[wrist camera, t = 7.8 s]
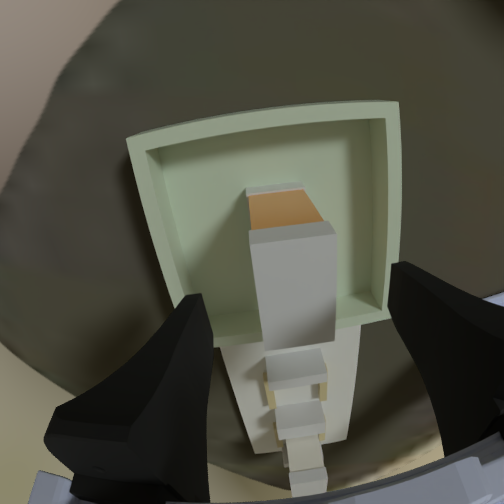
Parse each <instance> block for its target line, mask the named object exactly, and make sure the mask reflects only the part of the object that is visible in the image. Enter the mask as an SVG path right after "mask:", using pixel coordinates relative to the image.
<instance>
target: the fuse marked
mask: <svg viewBox="0 0 504 504" xmlns="http://www.w3.org/2000/svg"><path fill="white" fill-rule="evenodd" d="M246 197H247V205H248V212H249V219H250V226H251V230H249V243H250V251H251V258H252V265H253V272H254V279H255V286H256V293H257V300H258V307H259V314H260V321H261V328H262V335H263V341H264V348H265V351H271V350H279V349H286V348H293V347H300V346H307V345H313V344H319V343H326V342H332V341H335V325H336V296H337V233H336V232H335V230H334V229H333V227H332V226H331V224H330V223H329V221H324V220H323V218H322V217H321V215H320V214H319V212H318V211H317V209H316V208H315V206H314V204H313V203H312V201H311V200H310V198H309V197H308V195H307V194H306V192H305V186H304V185H303V183H302V182H301V181H297V182H288V183H280V184H271V185H263V186H255V187H247V188H246Z"/></svg>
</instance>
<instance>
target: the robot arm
mask: <svg viewBox="0 0 504 504" xmlns="http://www.w3.org/2000/svg"><path fill="white" fill-rule="evenodd" d="M387 308H388V310H389V313H390V315H391V318H392V320H393V323H394V325H395V327H396V329H397V331H398V333H399V335H400V336H401V338H402V340H403V342H404V344H405V345H406V347H407V349H408V351H409V353H410V354H411V356H412V358H413V360H414V362H415V363H416V365H417V367H418V369H419V371H420V373H421V375H422V378H423V380H424V383H425V385H426V388H427V391H428V394H429V396H430V400H431V403H432V406H433V409H434V412H435V416H436V419H437V423H438V427H439V431H440V435H441V440H442V446H443V451H444V458H442V459H439V460H437V461H434V462H432V463H429V464H426V465H424V466H421V467H418V468H415V469H413V470H410V471H407V472H404V473H401V474H397V475H394V476H391V477H388V478H385V479H381V480H377V481H374V482H370V483H366V484H362V485H358V486H354V487H350V488H345V489H341V490H336V491H331V492H325V493H320V494H314V495H308V496H301V497H294V498H286V499H278V500H267V501H255V502H240V503H238V502H237V503H210V495H209V483H208V467H207V439H206V416H207V404H208V396H209V388H210V381H211V373H212V365H213V357H214V339H213V331H212V328H211V324H210V321H209V318H208V314H207V311H206V307H205V304H204V300H203V297H202V293H197V294H189V295H185V296H184V298H183V299H182V300H181V301H180V303H179V304H178V305H177V307H176V308H175V309H174V311H173V312H172V313H171V314H170V316H169V317H168V318H167V320H166V321H165V322H164V323H163V325H162V326H161V327H160V328H159V329H158V331H157V332H156V333H155V334H154V335H153V336H152V337H151V338H150V340H149V341H148V342H147V343H146V344H145V345H144V346H143V347H142V348H141V349H140V350H139V351H138V352H137V353H136V354H135V355H134V356H133V357H132V358H131V359H130V360H129V361H128V362H126V363H125V364H124V365H123V366H122V367H120V368H119V369H118V370H117V371H115V372H114V373H113V374H111V375H110V376H109V377H108V378H106V379H105V380H103V381H102V382H100V383H99V384H98V385H96V386H95V387H93V388H91V389H90V390H88V391H86V392H85V393H83V394H81V395H80V396H78V397H76V398H74V399H72V400H70V401H68V402H66V403H64V404H62V405H60V406H58V407H56V409H55V411H54V413H53V416H52V418H51V421H50V423H49V426H48V428H47V430H46V433H45V436H44V443H45V445H46V447H47V449H48V450H49V451H50V452H51V453H52V454H53V455H54V456H55V457H56V458H57V459H58V460H59V461H60V462H62V463H63V464H64V465H65V466H66V467H67V468H69V469H70V470H71V471H72V472H73V473H74V476H73V480H72V481H71V480H70V479H68V478H65V477H63V476H59V475H55V474H52V473H48V472H45V471H41V470H40V471H38V473H37V476H36V479H35V482H34V485H33V488H32V491H31V495H30V498H29V501H28V504H504V292H502V293H499V294H496V295H493V296H490V297H487V298H484V299H481V298H478V297H476V296H473V295H471V294H469V293H467V292H465V291H462V290H460V289H458V288H456V287H454V286H452V285H450V284H448V283H446V282H445V281H443V280H441V279H439V278H437V277H435V276H433V275H432V274H430V273H428V272H426V271H424V270H422V269H421V268H419V267H417V266H415V265H413V264H411V263H408V262H406V261H403V262H397V263H392V264H391V272H390V283H389V293H388V303H387Z"/></svg>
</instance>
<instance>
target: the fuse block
mask: <svg viewBox="0 0 504 504" xmlns="http://www.w3.org/2000/svg"><path fill="white" fill-rule="evenodd" d="M360 329H361V325H357V326H352V327H347V328H341V329H336V330H335V341H332V342H326V343H319V344H313V345H307V346H300V347H293V348H286V349H279V350H271V351H265V348H264V341H263V342H256V343H248V344H240V345H232V346H223V347H220V349H221V353H222V356H223V359H224V362H225V366H226V369H227V372H228V375H229V378H230V382H231V385H232V388H233V391H234V394H235V397H236V400H237V403H238V406H239V409H240V412H241V415H242V418H243V421H244V424H245V427H246V430H247V433H248V436H249V438H250V441H251V444H252V447H253V450H254V452H255V454H259V453H268V452H277V451H282V454H283V463H284V468H285V467H289V460H288V452H287V447H286V441H285V439H291V438H298V437H304V436H310V435H316V434H318V438H319V443H320V448H321V445H322V444H327V443H332V442H337V441H342V440H346V438H347V433H348V427H349V421H350V414H351V408H352V401H353V394H354V386H355V378H356V370H357V361H358V351H359V340H360ZM321 453H322V448H321ZM322 458H323V453H322Z"/></svg>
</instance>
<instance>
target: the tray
mask: <svg viewBox="0 0 504 504" xmlns="http://www.w3.org/2000/svg"><path fill="white" fill-rule="evenodd" d="M126 141H127V145H128V150H129V154H130V158H131V162H132V167H133V171H134V175H135V179H136V183H137V186H138V190H139V194H140V198H141V202H142V205H143V209H144V213H145V216H146V220H147V223H148V227H149V230H150V234H151V237H152V240H153V244H154V247H155V250H156V253H157V257H158V260H159V263H160V266H161V269H162V272H163V276H164V279H165V282H166V285H167V288H168V291H169V294H170V297H171V300H172V302H173V305H174V308H176V307H177V305H178V304H179V303H180V301H181V300H182V299H183V298H184V296H185V295H189V294H197V293H202V297H203V300H204V304H205V307H206V311H207V314H208V318H209V321H210V324H211V328H212V331H213V339H214V347H223V346H232V345H240V344H248V343H256V342H263V335H262V328H261V321H260V314H259V307H258V300H257V293H256V286H255V279H254V272H253V265H252V258H251V251H250V243H249V230H251V226H250V219H249V212H248V205H247V197H246V188H247V187H255V186H263V185H271V184H280V183H288V182H297V181H301V182H302V183H303V185H304V186H305V192H306V194H307V195H308V197H309V198H310V200H311V201H312V203H313V204H314V206H315V208H316V209H317V211H318V212H319V214H320V215H321V217H322V218H323V220H324V221H329V223H330V224H331V226H332V227H333V229H334V230H335V232H336V233H337V296H336V325H335V330H336V329H341V328H347V327H352V326H357V325H362V324H366V323H371V322H376V321H380V320H385V319H389V318H391V315H390V313H389V310H388V308H387V303H388V293H389V283H390V272H391V264H392V263H397V262H398V258H399V245H400V228H401V200H402V159H401V131H400V115H399V102H395V101H383V100H356V101H335V102H320V103H308V104H297V105H287V106H279V107H270V108H263V109H255V110H248V111H242V112H235V113H229V114H223V115H218V116H212V117H207V118H202V119H197V120H192V121H187V122H182V123H178V124H173V125H169V126H164V127H160V128H156V129H152V130H148V131H144V132H141V133H138V134H136V135H133V136H131V137H128V138H126Z"/></svg>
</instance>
